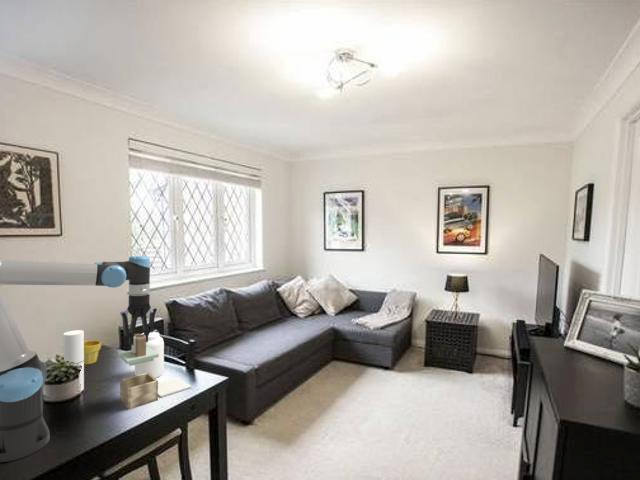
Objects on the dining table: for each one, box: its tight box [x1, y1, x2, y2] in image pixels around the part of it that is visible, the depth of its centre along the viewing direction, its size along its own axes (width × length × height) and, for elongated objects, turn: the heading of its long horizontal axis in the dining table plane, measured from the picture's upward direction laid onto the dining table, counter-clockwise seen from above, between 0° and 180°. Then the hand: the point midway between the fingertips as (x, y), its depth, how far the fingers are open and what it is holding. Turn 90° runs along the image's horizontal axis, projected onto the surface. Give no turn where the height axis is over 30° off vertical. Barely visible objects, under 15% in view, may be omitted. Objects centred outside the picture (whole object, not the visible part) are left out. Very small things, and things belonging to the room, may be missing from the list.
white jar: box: [134, 331, 165, 379], centre depth 165 cm, size 12×12×20 cm
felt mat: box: [158, 376, 192, 399], centre depth 153 cm, size 13×13×1 cm
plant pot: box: [84, 339, 102, 365], centre depth 179 cm, size 10×10×10 cm
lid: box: [118, 333, 159, 367], centre depth 141 cm, size 12×12×10 cm
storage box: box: [119, 373, 159, 410], centre depth 142 cm, size 11×11×8 cm
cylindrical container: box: [62, 329, 85, 393], centre depth 148 cm, size 7×7×25 cm
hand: (138, 351), depth 141 cm, fingers closed on lid, 3 cm apart
